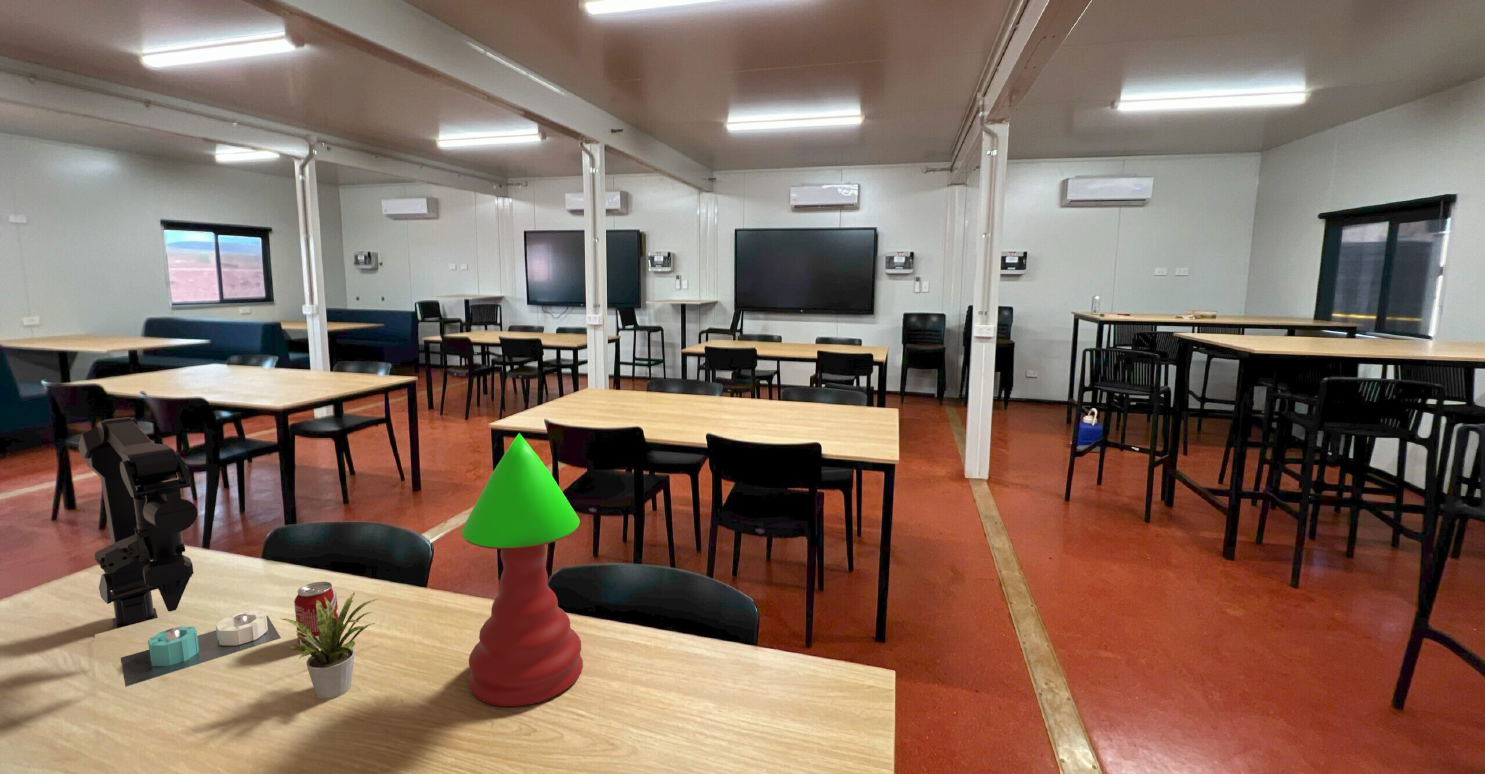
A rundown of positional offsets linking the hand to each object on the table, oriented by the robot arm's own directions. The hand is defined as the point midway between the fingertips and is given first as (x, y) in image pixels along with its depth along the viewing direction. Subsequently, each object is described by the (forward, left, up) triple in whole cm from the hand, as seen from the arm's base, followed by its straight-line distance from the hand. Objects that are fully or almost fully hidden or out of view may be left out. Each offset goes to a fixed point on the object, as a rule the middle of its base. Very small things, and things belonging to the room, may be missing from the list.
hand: (169, 601), depth 118 cm
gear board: (0, +4, -12) cm, 12 cm away
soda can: (+12, +20, -12) cm, 26 cm away
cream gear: (0, +10, -11) cm, 15 cm away
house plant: (+30, +19, -12) cm, 37 cm away
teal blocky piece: (0, 0, -11) cm, 11 cm away
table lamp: (+48, +44, -12) cm, 66 cm away
